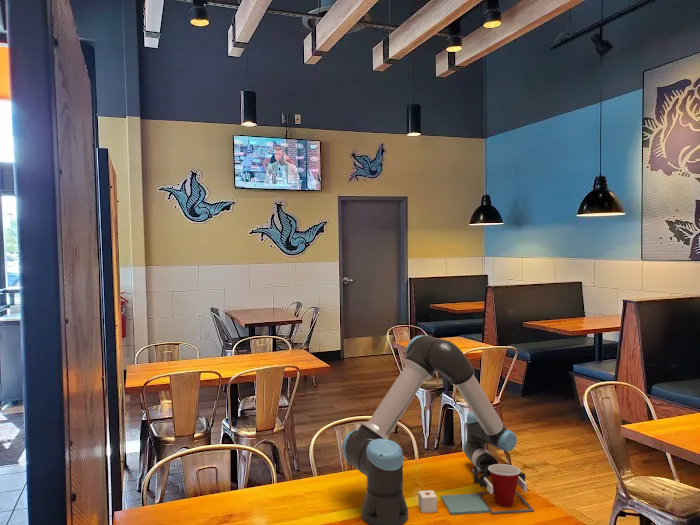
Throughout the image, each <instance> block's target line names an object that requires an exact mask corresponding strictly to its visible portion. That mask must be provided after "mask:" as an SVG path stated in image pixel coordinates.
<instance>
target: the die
mask: <svg viewBox="0 0 700 525" xmlns="http://www.w3.org/2000/svg"><path fill="white" fill-rule="evenodd" d="M417 491H418V490H417ZM417 493H418V494H417V495H418V497H417V498H418V504H417V505H418V507H419V510H420V512H421V513H423V514H425V513H437V512H438V496H437V495H436V493H435V491H434V490H433V489H432V490H430V489H429V490H419V491H418V492H417Z"/></svg>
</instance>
